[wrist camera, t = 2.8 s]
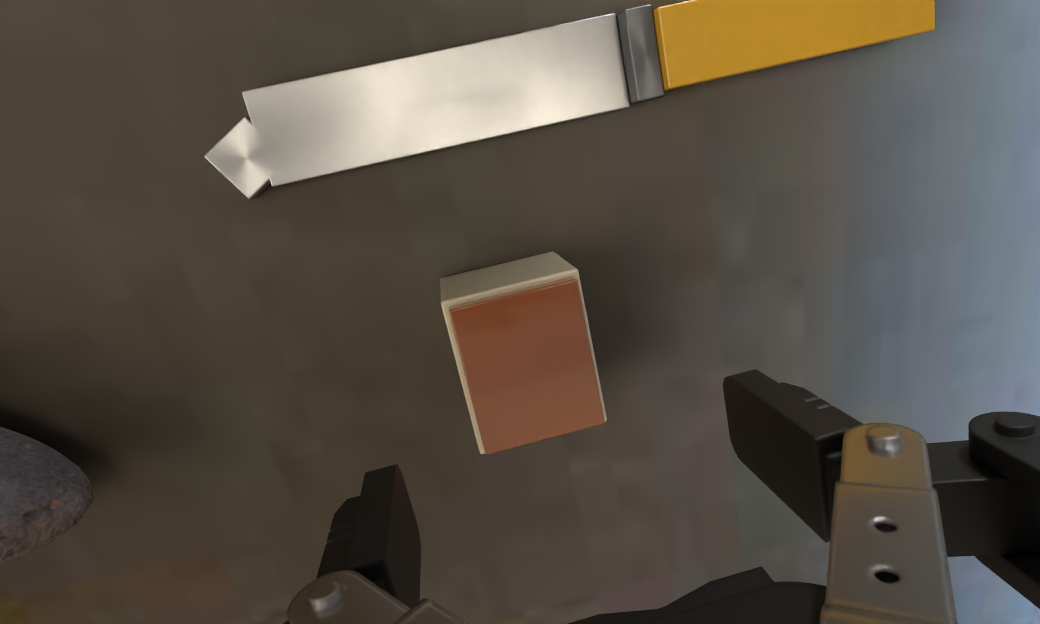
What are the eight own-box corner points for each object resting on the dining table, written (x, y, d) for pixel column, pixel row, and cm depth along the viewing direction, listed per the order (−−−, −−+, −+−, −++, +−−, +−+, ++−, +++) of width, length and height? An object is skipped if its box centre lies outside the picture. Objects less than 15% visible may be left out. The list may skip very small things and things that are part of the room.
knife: (227, 204, 21) (206, 209, 20) (192, 104, 20) (167, 99, 19) (895, 54, 24) (936, 45, 22) (891, -43, 23) (933, -61, 21)
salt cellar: (472, 409, 25) (481, 462, 20) (438, 278, 23) (440, 305, 19) (580, 381, 25) (611, 427, 21) (554, 250, 24) (582, 271, 19)
